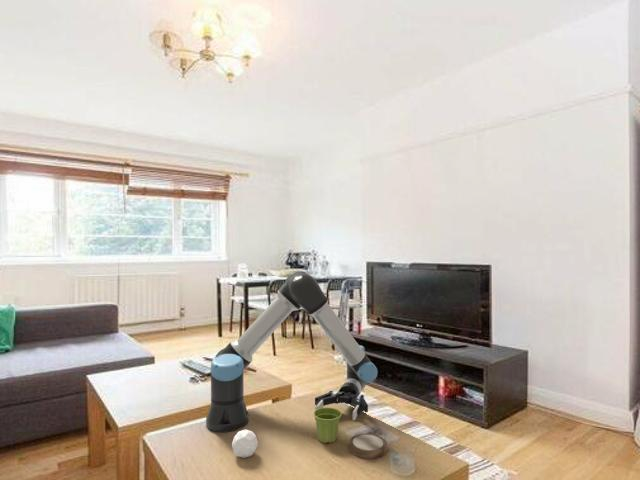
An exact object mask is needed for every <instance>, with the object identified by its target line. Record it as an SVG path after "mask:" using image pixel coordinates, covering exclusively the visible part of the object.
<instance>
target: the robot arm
mask: <svg viewBox="0 0 640 480" xmlns="http://www.w3.org/2000/svg"><path fill="white" fill-rule="evenodd" d="M288 275H289V274H288ZM300 309H303V310H304V311H305V312H306V314H307V315H308V316H312V317H313V319H314V320H315V322H316V323H317V324H318V326H320V328H321V329H322V330H323V332H324V333H325V335H326V336H327V337H328V339H329V340H330V341H331V343H332V344H333V345H334V346H335V348H336V349H337V350H338V352H339V353H340V354H341V355H342V357H343V358H344V359H345V361H346V380H345V381H344V383H343V384H342V385H341V387H340V388H339V390H338V391H337V392H335V393H334V391H333V390H329V391H328V392H326V393H324V394H321V395H319V396H316V397H314V405H315V410H317V409H320V408H324V407H325V406H329V405H333V404H335V405H337V404H345V405H350V406H351V407H353V408H354V410H353V411H352V421H355V420H356V419H357V417H358V415H359V416H360V415H361V414H362V413H363V412H365V413H368V411H369V405H368V403H367V401H366V399H365V398H364V397H365V396H364V394H361V393H362V391H363V390H364V389H365V387H366V386H367V383H368V384H369V383H372V382H374V381H375V380H376V378H377V377H378V368H377V367H376V365H375V364H374V363H373V362H372V361H371V359H370V358H369V357H368V356H367V354H366V349H365V346H363V345H360V344H359V343H358V342H357V341H356V339H355V338H354V337H353V335H352V333H350V331H349V330H348V329H347V327H346V325H345V324H344V323H343V322H342V321H341V319H340V318H339V317H338V315H337V314H336V313H335V311H334V310H333V308H332V307H331V306H330V304H329V298H328V297H327V295H325V293H324V292H323V290H322V288H321V287H320V285H319V283H318V282H317V280H316V279H315V277H313V276H312V275H310V274H309V273H307V272H305V271H295V272H292V273H291V274H290V275H289V276H287V278H286V279H285V281H284V283H283V284H282V285H281V286H280V287H279V289H278V290H277V296H276V297H275V299H273V300H272V302H271V303H270V304H269V305H268V306H267V307H266V308H265V310H264V311H262V313H261V314H260V315H259V316H257V318H256V319H255V320H254V321H253V322H252V323H251V324H250V325H249V327H248V328H247V329H246V330H244V332H243V333H242V334H241V336H239V338H238V339H237V340H232V341H230V342H229V343H228V344H227V345H226V346H225V347H224V348H222V349H220V350H219V351H218V352H217V353H216V355H215V356H214V358H213V359H212V360H211V364H210V368H209V370H210V371H209V372H210V405H209V409H208V411H207V412H208V413H207V415H206V418H205V427H206V428H207V429H208V430H210V431H214V432H217V433H228V432H234V431H237V430H239V429H242V428H244V427H246V426H247V424H248V423H249V413H248V410H247V406H246V404H245V400H244V398H245V397H244V396H245V395H244V393H245V392H244V387H245V386H244V384H245V383H244V371H245V370H246V369H247V367H248V366H249V365H250V364H251V363H252V362H253V355H254V354H255V353H257V351H258V350H259V348H260V347H261V346H262V345H264V344H265V342H266V341H267V340H268V339H269V337H270V336H271V335H273V334H274V332H275V331H276V330H277V329H278V328H279V327H280V326H281V324H282V323H283V322H284V321H285V320H286V319H287V317H289V316H290V315H291V313H292V312H293V311H299V310H300ZM315 410H314V411H315Z"/></svg>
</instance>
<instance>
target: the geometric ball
mask: <svg viewBox="0 0 640 480" xmlns="http://www.w3.org/2000/svg"><path fill="white" fill-rule="evenodd" d="M258 443H259V442H258V438H257V435H256V434H255V433H254V432H253V431H252V430H249V429H243V430H240V431H238V432H237V433H236V434H235V435H234V436H233V440H232V443H231V446H232V451H233V453H234V454H235V455H236V456H237V457H240V458H243V459H246V458H249V457H251V456H253V454H254V453H255V452H256V450H257V448H258Z"/></svg>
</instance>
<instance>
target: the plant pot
mask: <svg viewBox="0 0 640 480" xmlns="http://www.w3.org/2000/svg"><path fill="white" fill-rule="evenodd" d="M313 417H314V420H315V423H316V432H317V439H318V441H319V442H321V443H323V444H327V443H329V444H332V443H335V441H337V438H338V436H337V435H338V429H339V423H340V419H341V417H342V412H341V411H340V410H339V409H337V408H334V407H323V408H320V409H317V410H314V411H313Z"/></svg>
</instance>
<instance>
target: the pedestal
mask: <svg viewBox="0 0 640 480" xmlns="http://www.w3.org/2000/svg"><path fill="white" fill-rule="evenodd" d="M348 450H349V452H350V453H351V454H352V455H354V456H356V457H358V458H361V459H364V460H365V459H366V460H375V459H380V458H381V457H384V456H385V455H386V454H387V452H388V443H387V440H386V439H385V438H383V437H382V436H381V435H377V434H374V433H365V432H364V433H358V434H355V435H352V437H350V439H349V442H348Z"/></svg>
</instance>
